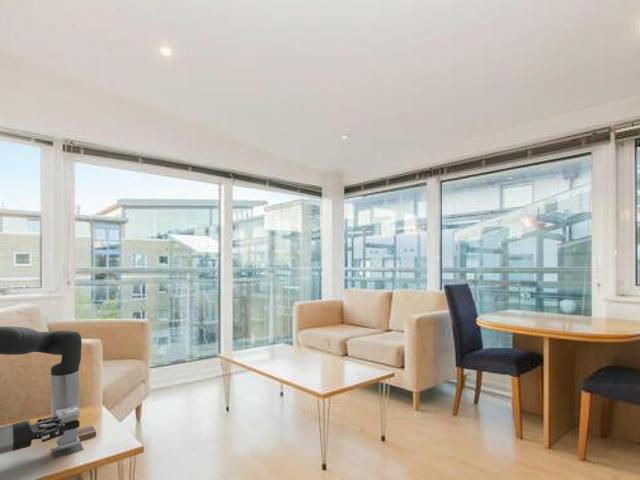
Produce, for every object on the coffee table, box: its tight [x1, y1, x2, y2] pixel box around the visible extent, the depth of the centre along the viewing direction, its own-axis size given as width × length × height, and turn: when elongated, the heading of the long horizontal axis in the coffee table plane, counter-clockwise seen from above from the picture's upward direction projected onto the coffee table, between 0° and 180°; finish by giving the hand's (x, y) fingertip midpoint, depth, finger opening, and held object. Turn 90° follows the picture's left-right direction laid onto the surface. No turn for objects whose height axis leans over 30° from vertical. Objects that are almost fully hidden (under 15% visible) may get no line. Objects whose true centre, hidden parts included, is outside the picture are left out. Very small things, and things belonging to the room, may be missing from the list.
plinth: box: [77, 424, 97, 441], centre depth 137 cm, size 7×7×2 cm
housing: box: [56, 406, 81, 449], centre depth 128 cm, size 6×6×10 cm
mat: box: [50, 442, 85, 460], centre depth 127 cm, size 8×8×1 cm
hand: (77, 421), depth 130 cm, fingers closed on housing, 4 cm apart
